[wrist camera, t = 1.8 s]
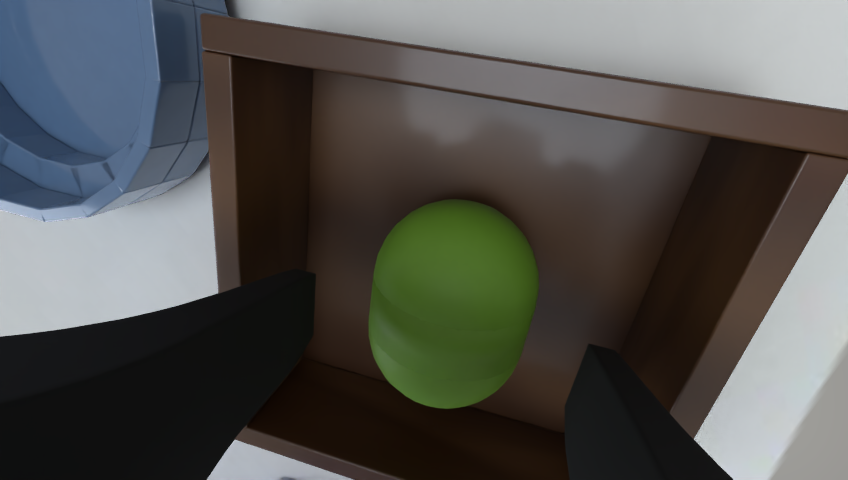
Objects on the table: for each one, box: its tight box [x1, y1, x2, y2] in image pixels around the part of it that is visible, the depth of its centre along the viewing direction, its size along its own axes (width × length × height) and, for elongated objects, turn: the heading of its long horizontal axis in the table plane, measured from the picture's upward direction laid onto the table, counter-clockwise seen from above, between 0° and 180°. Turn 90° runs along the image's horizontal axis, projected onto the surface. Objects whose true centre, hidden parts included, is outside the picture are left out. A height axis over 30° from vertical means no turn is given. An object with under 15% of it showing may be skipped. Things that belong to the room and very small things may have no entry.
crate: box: [200, 13, 848, 480], centre depth 13 cm, size 14×14×4 cm
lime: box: [369, 199, 539, 409], centre depth 12 cm, size 6×5×5 cm
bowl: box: [0, 0, 229, 222], centre depth 13 cm, size 13×13×4 cm
